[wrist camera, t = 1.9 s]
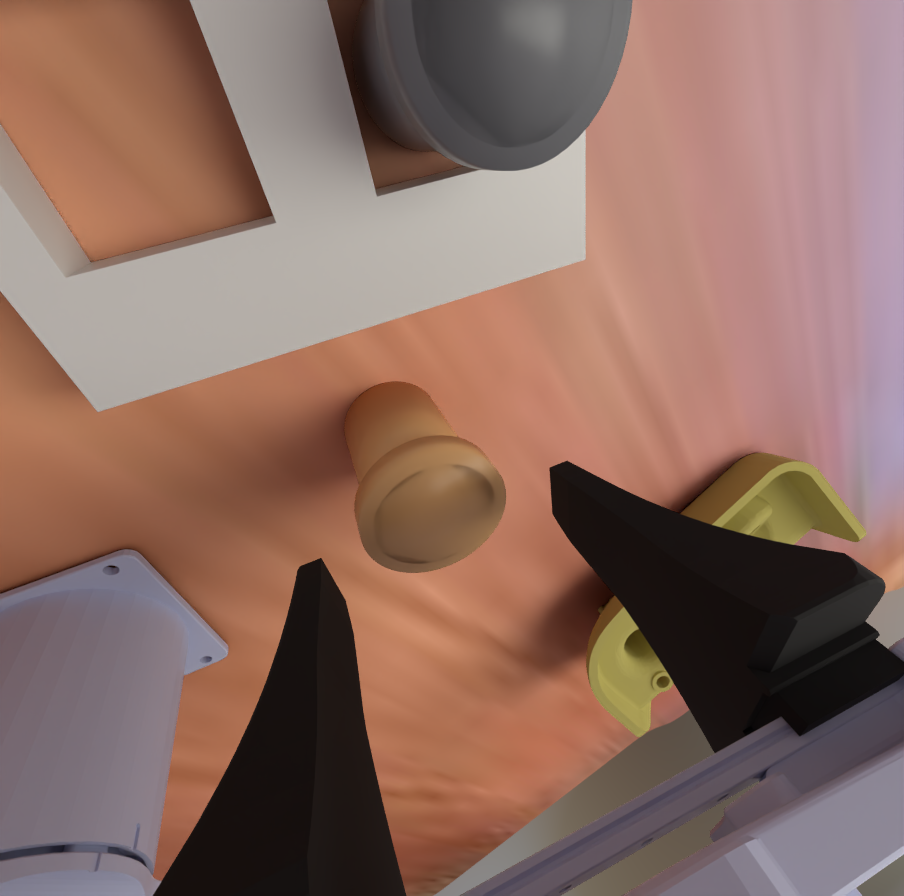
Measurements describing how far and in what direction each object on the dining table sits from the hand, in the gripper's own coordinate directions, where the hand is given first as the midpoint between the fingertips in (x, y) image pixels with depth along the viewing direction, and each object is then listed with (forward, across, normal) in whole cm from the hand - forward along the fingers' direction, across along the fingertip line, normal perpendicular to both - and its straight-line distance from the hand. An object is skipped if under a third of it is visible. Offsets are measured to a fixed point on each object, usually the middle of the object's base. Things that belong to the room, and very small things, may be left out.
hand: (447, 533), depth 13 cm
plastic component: (+7, -16, +19) cm, 26 cm away
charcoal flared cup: (+7, -4, -11) cm, 14 cm away
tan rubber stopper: (+7, 0, 0) cm, 7 cm away
